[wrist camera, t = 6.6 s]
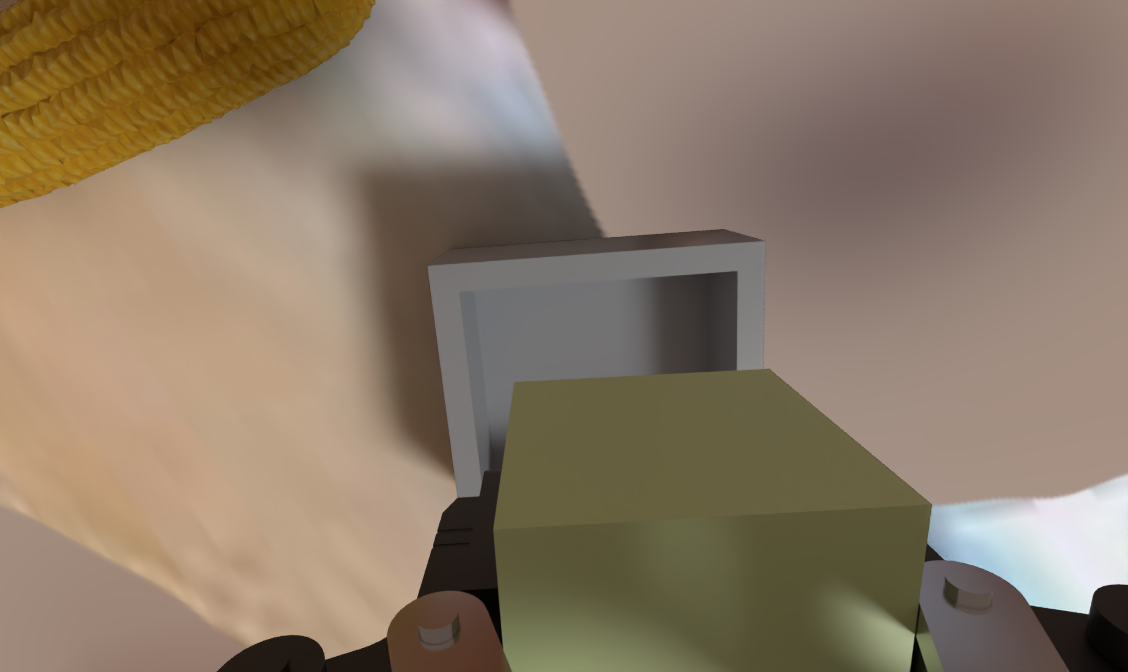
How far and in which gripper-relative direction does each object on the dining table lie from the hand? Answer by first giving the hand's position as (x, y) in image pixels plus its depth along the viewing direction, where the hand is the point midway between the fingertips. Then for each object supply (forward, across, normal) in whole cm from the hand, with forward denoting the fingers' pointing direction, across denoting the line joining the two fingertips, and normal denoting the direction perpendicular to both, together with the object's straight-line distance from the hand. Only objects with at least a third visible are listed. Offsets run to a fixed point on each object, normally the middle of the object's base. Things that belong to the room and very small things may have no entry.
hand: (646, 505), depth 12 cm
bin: (+15, 0, +2) cm, 16 cm away
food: (+16, +17, -10) cm, 26 cm away
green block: (0, 0, 0) cm, 0 cm away
